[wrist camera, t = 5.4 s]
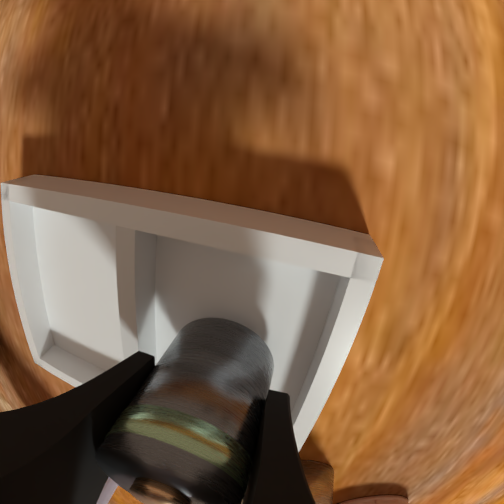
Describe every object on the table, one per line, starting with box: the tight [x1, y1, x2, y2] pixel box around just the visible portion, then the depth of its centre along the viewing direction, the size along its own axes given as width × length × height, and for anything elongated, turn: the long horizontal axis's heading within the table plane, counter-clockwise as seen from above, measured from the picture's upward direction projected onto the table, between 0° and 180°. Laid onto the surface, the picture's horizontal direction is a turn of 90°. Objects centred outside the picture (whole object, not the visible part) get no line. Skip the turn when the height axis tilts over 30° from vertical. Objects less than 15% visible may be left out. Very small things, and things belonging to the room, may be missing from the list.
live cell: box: [95, 317, 274, 504], centre depth 8 cm, size 4×4×6 cm
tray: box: [1, 174, 384, 453], centre depth 12 cm, size 16×11×2 cm
